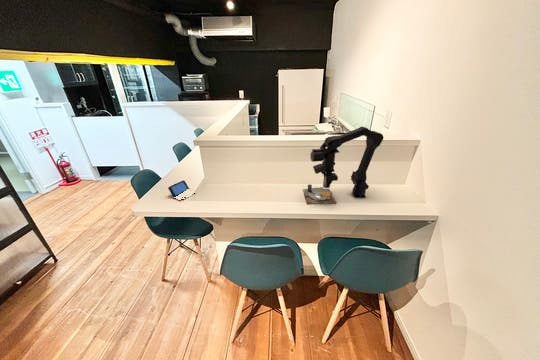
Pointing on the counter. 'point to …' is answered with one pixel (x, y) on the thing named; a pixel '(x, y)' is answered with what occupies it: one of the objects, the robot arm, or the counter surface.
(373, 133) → the robot arm
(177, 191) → the handheld game console
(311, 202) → the sprocket base
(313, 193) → the sprocket
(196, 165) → the counter surface
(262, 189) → the counter surface
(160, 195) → the counter surface
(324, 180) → the roller
